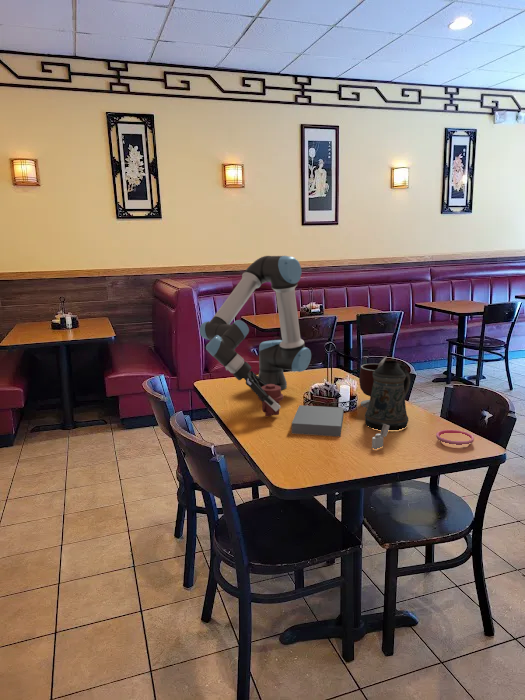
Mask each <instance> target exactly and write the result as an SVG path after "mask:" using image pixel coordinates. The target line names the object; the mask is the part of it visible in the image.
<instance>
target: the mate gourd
mask: <svg viewBox="0 0 525 700" xmlns="http://www.w3.org/2000/svg"><path fill="white" fill-rule="evenodd" d="M385 361H387V356H385V357H384V358H383V359H382V360H381V361H380V362H379V363H366V364H362V365H360V371H359V377H358V380H359V387H360V390H361V391H362V393H363V394H364V395H365V396H368V397H369V398H370V397H371V392H372V387H373V383H374V378H373V372H374V371H375V370H376V369H377V368H379V367H380V366H382V365H383V364H384V362H385ZM369 401H370V399H366V400H365V399H364V400H362V401H361V402H360V404H361V405H360V407H362V406H363V407H362V408H364V407H366V408H365V409H367V408H368V405H369Z"/></svg>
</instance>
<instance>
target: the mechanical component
mask: <svg viewBox="0 0 525 700" xmlns="http://www.w3.org/2000/svg"><path fill="white" fill-rule="evenodd" d="M261 388H262V389H263V390H264V391H265V393H266V394H267V395H268V396H270V397H271V398H272V399H273V400H274V401H275V402H277V403H278V404H279V405H280V402H281V401H282V400H284V394H283V393H282V390H281V387H280V386H277V385H275V384H267V385H265V386H262V387H261ZM257 397H258V396H257ZM257 400H259V401H260V402H261V403H262V409H261V410H262V412H263V413H264V417H271V416H279V414H280V408H279V409H278V410H277V411H275V410H274V409H273V408H271V407H270V406H269V405H268V404H267V403H266V402H265V401H264V402H262V400H261V399H260V398H259V397H258V399H257Z"/></svg>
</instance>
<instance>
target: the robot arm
mask: <svg viewBox="0 0 525 700" xmlns="http://www.w3.org/2000/svg"><path fill="white" fill-rule="evenodd" d="M302 273H303V271H302V267H301V264H300V261H299V260H298V259H296V258H295V257H294V256H288V255H264V256H261V257H259V258H257V259H256V260H255V261H253V262H252V263H251V264H250V265H249V266H248V267H247V268H246V269H245V270H244V272H242V275H241V280H240V281H239V282H238V283H237V285H236V286H235V287H234V288H233V290H232V292H231V293H230V294H229V295H228V297H227V298H226V300H225V301H224V302H223V304H222V305H221V306H220V307H219V309H218V311H216V313H215V314H214V315H213V317H212V318H211V320H210V321H208V320H207V321H203V322H202V324H201V325H200V327H199V334H200V336H201V338H203V339H205V340H209V342H208V343H207V344H206V346H205V349H206V351H207V352H208V353H209V354H210V355H211V356H212V357H213V358H214V359H215V360H217V362H218V363H220V365H222V366H223V367H224V368H225V371H228V372H230V374H233V376H234V378H236V380H238V381H242V380H244V381H245V384H246V385H247V387H248V388H250V389H251V390H252V392H254V393H255V394H256V396H257V397H259V398H260V399H261V400H262V401H261V403H262V402H264V401H265V402H266V403H267V404H268V405H269V406H270V407H271V408H273V409H274V410H275V411H277V410H278V409H279V410H280V409H281V408H282V407H281V405H280V403H279V404H278V403H277V402H275V401H274V400H273V399H272V398H271V397H270V396H268V395H267V394H266V393H265V391H264V390H263V389H262V388H261V387H262V386H265V385H267V384H275V385H277V386H280V387H281V391H282V390H283V391H284V390H285V389H287V379H286V377H285V374H284V370H285V371H286V370H287V371H292V372H298V373H300V372H304V371H305V370H306V369H307V368H308V367H309V365H310V363H311V359H312V352H311V349H310V348H308V347H306V344H305V341H304V339H302V337H301V331H300V330H301V329H300V324H299V322H300V321H299V316H298V315H299V313H298V307H297V306H298V305H297V300H296V299H297V298H296V290H295V289H296V287H298V283H299V281H300V280H301V279H302V278H301V276H302ZM264 283H270V285H271V289H272V290H273V291H275V298H276V303H277V305H276V306H277V311H278V312H277V313H278V320H279V326H280V327H279V328H280V336H281V339H274V340H273V339H272V340H266V341H262V342H261V343H260V342H259V347H258V349H259V350H258V358H259V359H258V362H259V363H258V365H259V371H258V375H257V374H255V373H254V371H253V370H252V366H251V365H250V364H249V363H248V362H247V361H245V359H244V358H243V357H242V356H241V355H240V354H239V353H237V351H236V349H237V347H239V345H240V344H241V343H242V342H243V340H245V338H246V337H247V335H249V332H250V328H249V327H248V325H247V323H246V322H244V321H243V320H241V319H237V320H235V321H234V322H233V320H234V319H235V318H236V316H237V315H238V313H239V312H240V311H241V309H243V307H244V306H245V304H246V303H247V302H248V300H249V299H250V297H251V296H252V294H253V293H254V292H255V291H256V289H259V288H260V287H261V286H262V284H264ZM231 323H232V324H231Z"/></svg>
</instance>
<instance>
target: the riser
mask: <svg viewBox="0 0 525 700" xmlns="http://www.w3.org/2000/svg"><path fill="white" fill-rule="evenodd" d="M344 408H345V407H341V406H340V407H339V406H338V407H337V406H318V405H302V404H301V405H300V404H299V405H298V408H297V410H296V412H295V414H294V416H293V420H292V422H291V434H293V435H294V434H295V435H306V436H307V435H308V436H321V437H323V436H326V437H338V436H339V437H340V438H341V436H342V428H343V422H344V413H345V412H344Z"/></svg>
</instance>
